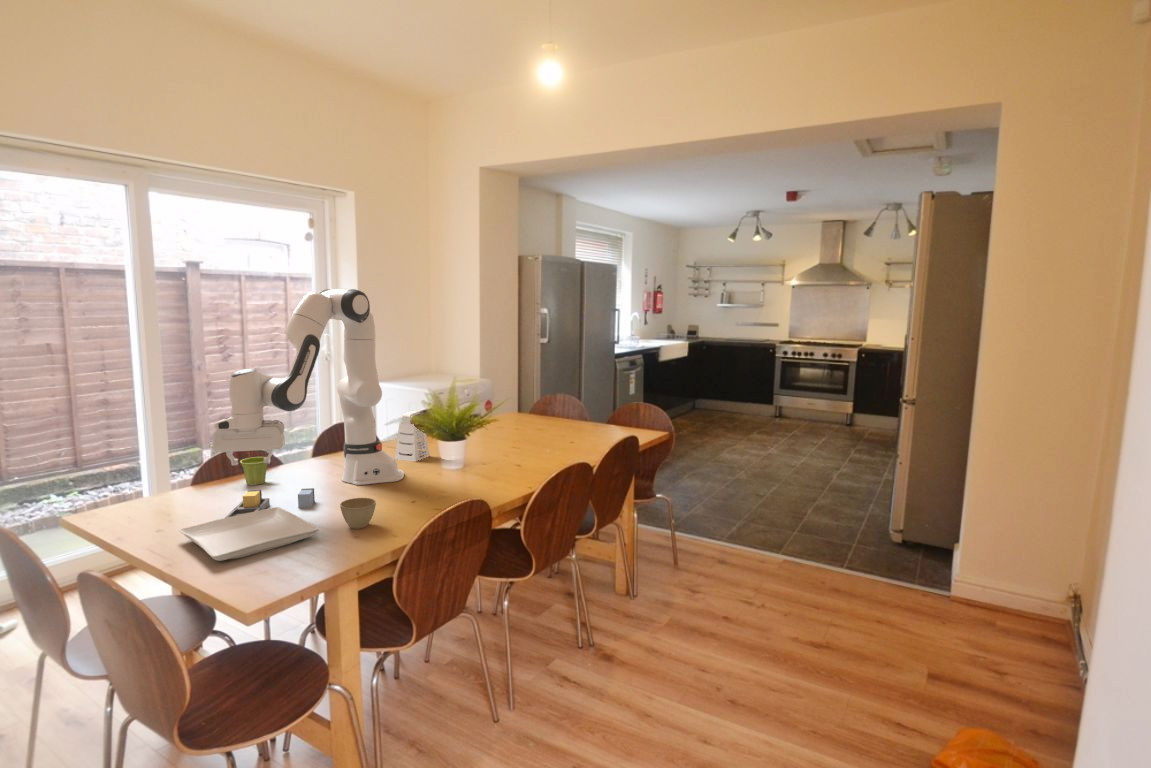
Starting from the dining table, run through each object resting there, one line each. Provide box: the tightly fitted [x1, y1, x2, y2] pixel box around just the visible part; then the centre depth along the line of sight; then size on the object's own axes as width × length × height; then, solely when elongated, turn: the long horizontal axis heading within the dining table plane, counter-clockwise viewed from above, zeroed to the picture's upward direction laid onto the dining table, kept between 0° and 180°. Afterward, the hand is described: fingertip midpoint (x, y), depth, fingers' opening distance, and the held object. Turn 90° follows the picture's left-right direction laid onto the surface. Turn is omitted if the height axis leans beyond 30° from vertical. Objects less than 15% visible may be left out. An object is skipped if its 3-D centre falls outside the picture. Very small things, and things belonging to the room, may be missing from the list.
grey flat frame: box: [224, 497, 270, 518], centre depth 187 cm, size 8×18×2 cm, turn 12°
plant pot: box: [239, 456, 268, 486], centre depth 220 cm, size 9×9×9 cm
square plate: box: [178, 506, 320, 562], centre depth 167 cm, size 27×27×4 cm
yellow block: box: [242, 489, 263, 507], centre depth 191 cm, size 4×6×5 cm, turn 12°
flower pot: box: [339, 497, 377, 530], centre depth 178 cm, size 10×10×7 cm
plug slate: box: [297, 487, 316, 509], centre depth 197 cm, size 4×6×5 cm, turn 12°
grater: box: [394, 410, 431, 463], centre depth 258 cm, size 10×10×20 cm
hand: (251, 464), depth 190 cm, fingers open, 8 cm apart
